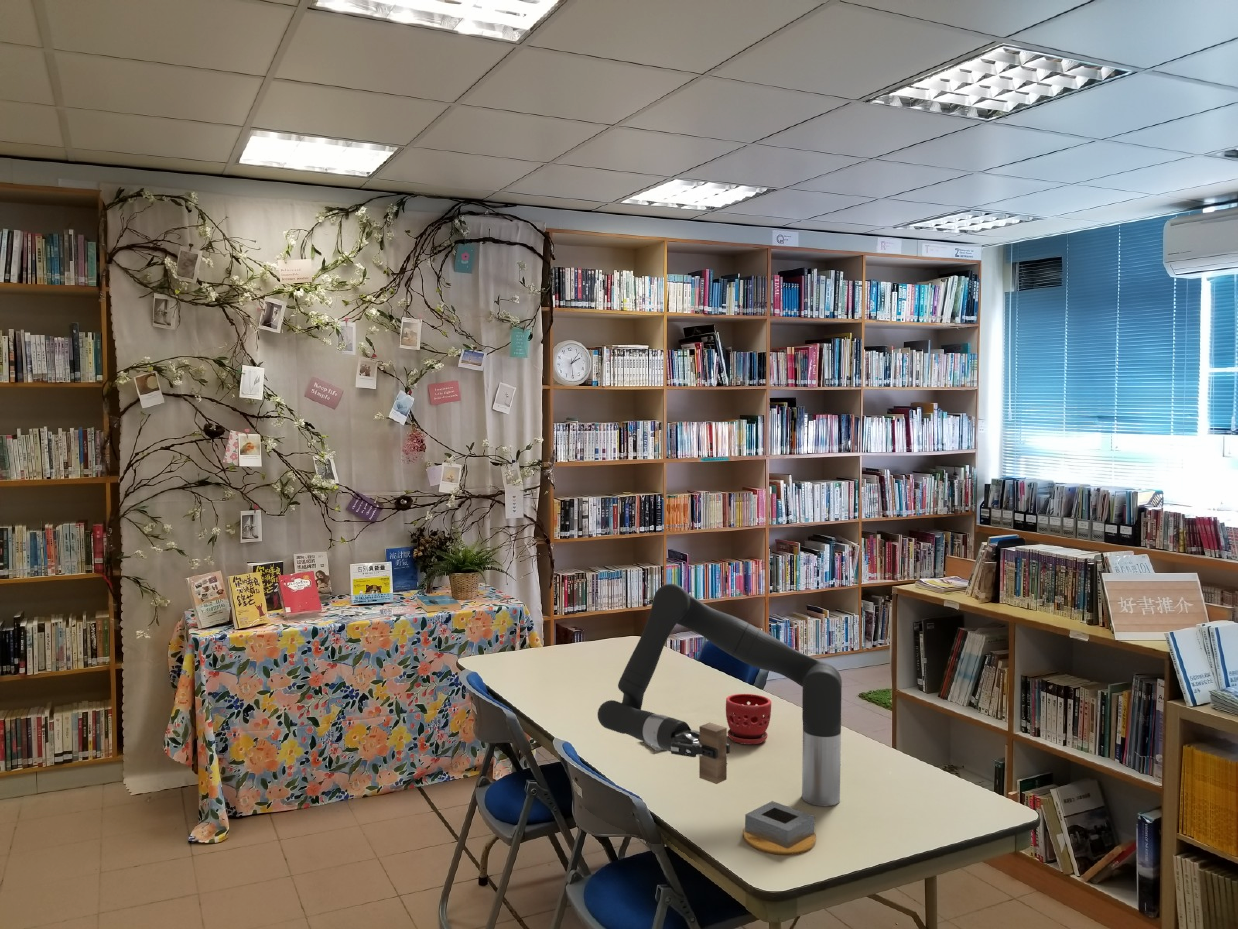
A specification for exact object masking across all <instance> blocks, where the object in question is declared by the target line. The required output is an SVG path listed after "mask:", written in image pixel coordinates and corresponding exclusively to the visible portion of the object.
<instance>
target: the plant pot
mask: <svg viewBox="0 0 1238 929" xmlns="http://www.w3.org/2000/svg"><path fill="white" fill-rule="evenodd" d="M748 703H750V704H748ZM771 713H772V700H771V698H768V697H766V696H763V695H760V694H755V693H754V694H753V693H735V694H731V695H728V696H727V697H726V700H725V716H726V717H725V718H726V723H727V725H728V728H729V729H728V730H727V737H728V738H729V739H730V740H731V741H733V742H735V743H738V744H741V745H758V744H761V743H764V741H766V740H767V739H768V736H769V735H768V733H767V730H768V728H769V725H770V720H771V717H772V714H771Z"/></svg>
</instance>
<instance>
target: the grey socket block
mask: <svg viewBox="0 0 1238 929" xmlns="http://www.w3.org/2000/svg"><path fill="white" fill-rule="evenodd" d="M744 816H745V817H744V828H743V839H744V841H745V843H747V845H749V846H750V847H752V848H754V849H755V850H758V851H760V852H764V853H766V854H772V855H779V856H792V855H799V854H803V852H804V853H806V852H809V851H811V850H812V849H813V848H814V847H815V845H816V843H817V836H816V834H817V833H816V832H815V815H812V814H809V813H806V812H804V811H801V810H797V809H795V808H792V807H790V806H787V805H784V804H782V803H778V802H776V801H773V800H771V801H770V802H767V803H766V804H764V805H761V806H759V807H757V808H755V809H753V810H752V811H750V812H748V813H747V812H746V814H744Z"/></svg>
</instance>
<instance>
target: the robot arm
mask: <svg viewBox="0 0 1238 929" xmlns="http://www.w3.org/2000/svg"><path fill="white" fill-rule="evenodd" d="M676 625H679V626H681V627H684V628H687V629H689V630H691V631H693V632H694V633H697V634H699V635H701V636H702V637H704V638H705V639H706V640H707V641H708V642H710V643H712V645H714V646H715V647H716V648H718V649H720V650H721V651H723V652H725V653H726V654H728V655H730V656H732V657H733V658H735V659H737V660H739V661H740V662H742V663H744V664H747V665H748V666H751V667H753V668H756V669H761V670H764V671H768V672H773V673H776V674H778V675H781V676H784V677H785V678H787V679H789V680H790V681H793V682H794V683H796V684H798V685H799V686H800V687H802V691H801V692H802V693H801V694H802V696H801V697H802V699H801V700H802V702H801V704H802V705H801V706H802V709H801V710H802V711H801V712H802V713H801V714H802V715H801V716H802V718H801V719H802V765H801V766H802V770H801V771H802V772H801V773H802V774H801V775H802V777H801V798H802V800H803V801H805V802H806V803H808V804H809V805H814V806H818V807H819V806H820V807H830V806H831V807H832V806H835V805H838V804H839V803H840V800H841V756H842V753H841V751H842V747H841V746H842V742H841V741H842V740H841V739H842V692H843V691H842V687H843V681H842V680H843V679H842V677H841V674H840V673H839V671H838V670H837V669H836V668H835V667H834V666H833V665H832V664H830V663H827V662H825V661H823V660H820V659H817V658H816V657H813V656H810V655H808V654H805V653H803V652H801V651H799V650H796V649H795V648H793V647H792V646H789V645H787V644H786V643H784V642H783V641H781V640H779V639H778V638H776V637H774V636H773V635H771V634H769V633H767V632H765V631H764V630H762V629H760V628H758V627H757V626H754V625H753V624H751V623H749V622H747V621H745V620H743V619H741V618H739V617H736V616H734V615H731V614H728V613H725V612H723V611H720V610H716V609H715V608H712V607H710V606H709V605H708V604H705V603H704V602H702V601H700V600H699V599H697V598H695V597H694V596H693V595H691V594H690V593H689V592H687V591H686V589H684V588H683V587H682V586H681V585H679V584H676V583H668V584H664V585H661V586H660V587H659V588H658V589H657V590H656V591H655V593H654V596H653V600H652V604H651V608H650V611H649V616H648V619H647V621H646V624H645V626H644V629H643V631H642V633H641V636H640V637H639V640H638V643H637V644H636V646H635V648H634V650H633V652H632V654H631V656H630V657H629V660H628V661H627V664H626V665H625V668H624V669H623V672H622V675H621V676H620V678H619V681H618V683H617V688H618V690H619V691H620V692H621V693H622V694H623V695H622V696H623V697H622V701H621V702H620V701H617V700H613V699H610V700H606V701H605V702H603V703H602V704H601V705H600V706H599V708H598V709H597V720H598V722H599V724H600V725H601V726H602V727H603V728H605V729H606V730H611V731H613V732H616V733H618V734H623V735H628V736H630V737H632V738H633V739H634V738H635V739H636V740H639V741H642V742H643V741H644V742H647V743H650V744H651V746H652V745H653V746H655V747H658V748H661V749H664V750H665V751H667V752H670V754H671V755H677V756H683V757H687V758H688V757H689V758H696V757H697V756H698V757H699V756H703V755H704V756H707V757H710V758H713V759H716V758H718V749H716V748H713V747H710V746H707V745H704V746H703V744H702V743H699V731H698V730H694V729H692V728H691V727H690V725H689V724H688V723H687V721H684V720H680V719H677V718H675V717H670V716H668V715H664V714H658V713H655V712H652V711H648V710H643V709H642V707H643V702H644V696H645V692H646V691H647V688H648V687H649V684H650V682H651V680H652V678H653V676H654V673H655V670H656V668H657V666H658V663H659V660H660V658H661V656H662V652H663V649H664V646H665V645H666V642H667V640H668V638H669V636H670V635H671V633H672V631H673V629H674V628H675V626H676ZM644 742H643V743H644ZM730 749H731V746H730V744H729V743H727V745H726V754H727V755H728V754H730V752H731V750H730ZM664 750H663V751H664Z"/></svg>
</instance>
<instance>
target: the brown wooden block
mask: <svg viewBox="0 0 1238 929" xmlns="http://www.w3.org/2000/svg"><path fill="white" fill-rule="evenodd" d="M698 727H699V731H698V732H699V743H702V744H703V746H704V745H707V746H710V747H713V748H716V749H718V758H716V759H713V758H710V757H707V756H704V755H703V756H699V755H698V757H699V759H698V760H699V761H698V762H699V768H698V769H699V771H698V772H699V774H698V775H699V778H698V779H702V780H704V781H707V782H709V783H711V784H712V783H713V784H715V785H718V784H720V783H722V782H724V781H726V780H727V775H728V774H727V772H728V770H727V768H728V767H727V766H728V762H727V761H728V759H727V755H728V754H726V745H727V744H728V742H727V741H728V740H727V738H728V730H727V729H728V727H725V726H722V725H720V724H719V725H718V724H716V723H713V722H707V723H705V724H702V725H699V726H698Z"/></svg>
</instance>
